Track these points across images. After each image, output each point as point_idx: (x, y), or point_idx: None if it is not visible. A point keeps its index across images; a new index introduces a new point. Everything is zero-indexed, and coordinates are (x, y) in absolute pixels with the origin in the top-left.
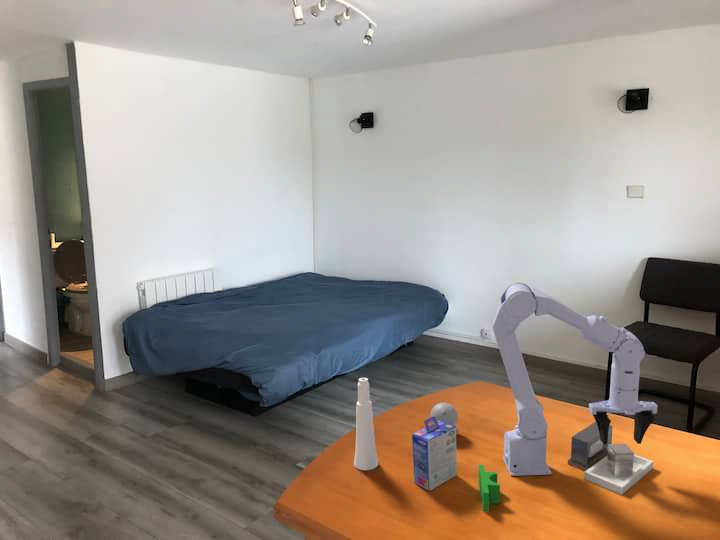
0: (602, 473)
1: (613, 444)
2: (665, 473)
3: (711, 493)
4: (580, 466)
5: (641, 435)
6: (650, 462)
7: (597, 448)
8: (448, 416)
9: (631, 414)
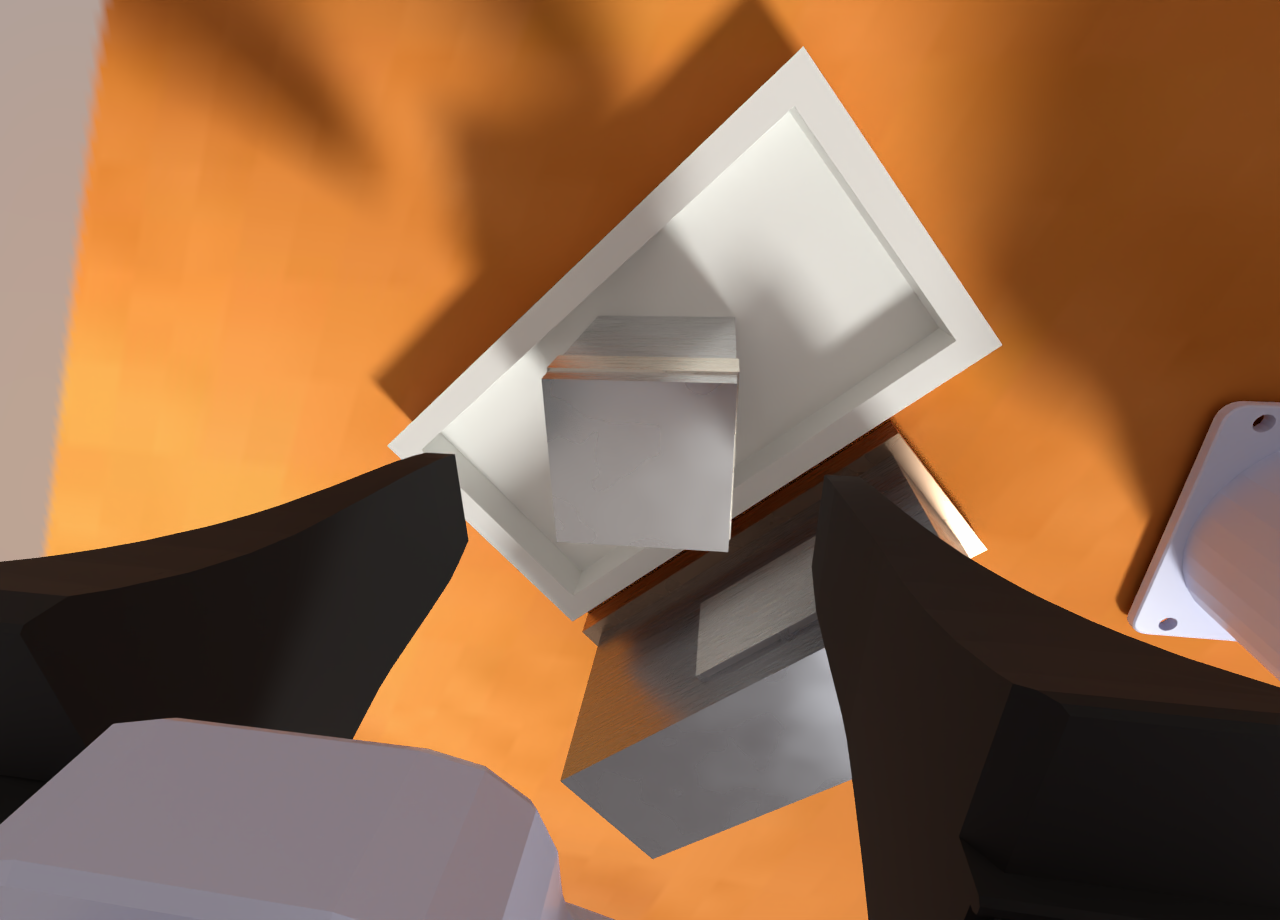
0: (800, 377)
1: (677, 543)
2: (353, 361)
3: (108, 76)
4: (927, 471)
5: (368, 486)
6: (412, 433)
7: (771, 583)
8: None
9: (260, 742)
